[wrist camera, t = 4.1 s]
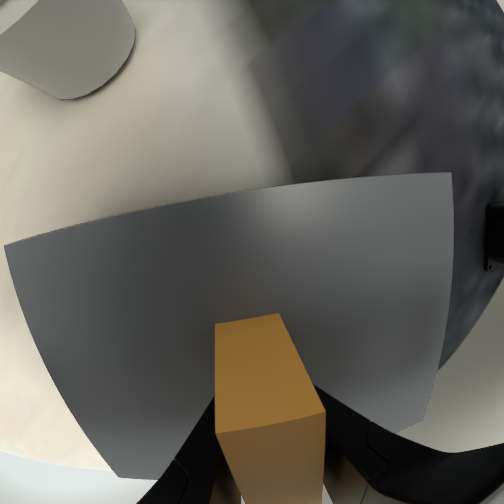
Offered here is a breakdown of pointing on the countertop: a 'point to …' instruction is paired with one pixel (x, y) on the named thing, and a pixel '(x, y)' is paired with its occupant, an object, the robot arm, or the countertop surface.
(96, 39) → the can
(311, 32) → the countertop surface
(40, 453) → the countertop surface
